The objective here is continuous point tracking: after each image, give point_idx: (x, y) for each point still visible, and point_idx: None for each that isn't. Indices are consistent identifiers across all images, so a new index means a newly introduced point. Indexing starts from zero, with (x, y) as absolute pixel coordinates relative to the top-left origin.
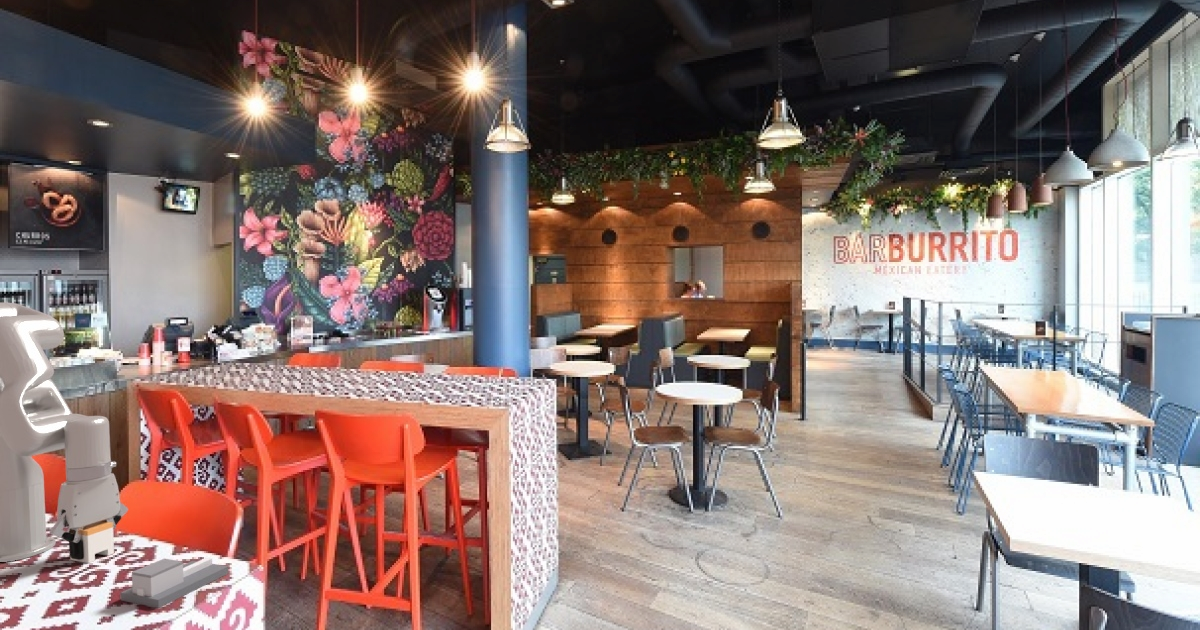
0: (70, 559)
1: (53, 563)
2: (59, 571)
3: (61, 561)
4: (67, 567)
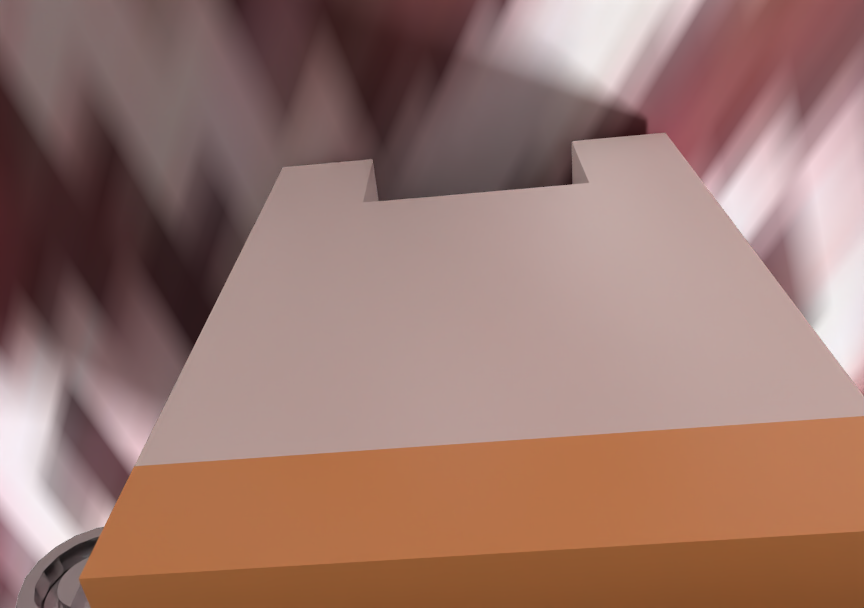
0: (283, 170)
1: (99, 13)
2: (73, 417)
3: (201, 49)
4: (171, 379)
